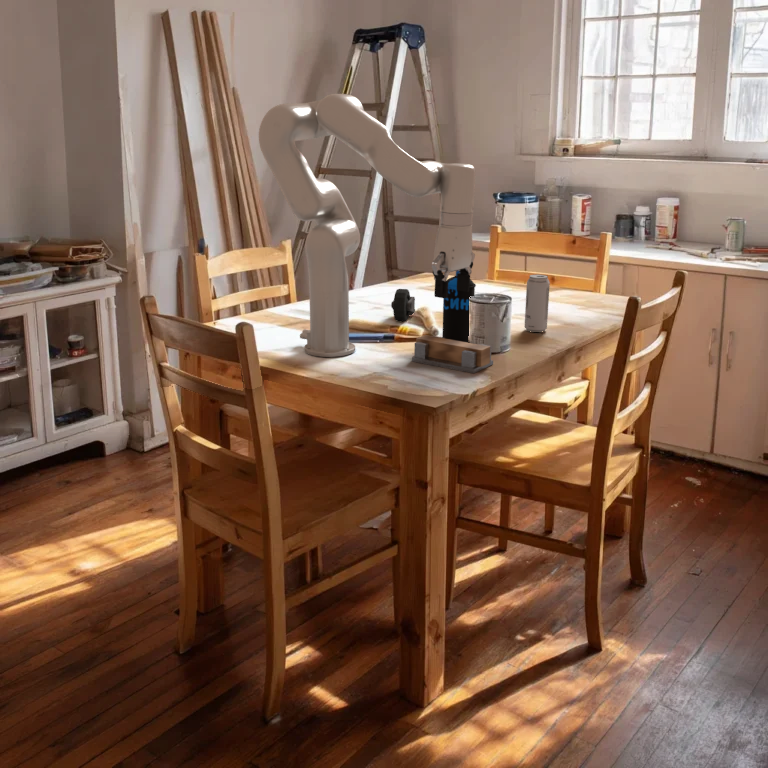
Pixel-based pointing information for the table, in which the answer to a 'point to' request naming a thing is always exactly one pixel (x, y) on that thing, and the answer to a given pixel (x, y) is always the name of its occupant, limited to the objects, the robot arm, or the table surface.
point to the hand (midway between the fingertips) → (452, 294)
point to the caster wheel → (403, 305)
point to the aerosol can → (456, 311)
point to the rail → (455, 349)
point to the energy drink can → (537, 303)
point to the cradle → (466, 365)
